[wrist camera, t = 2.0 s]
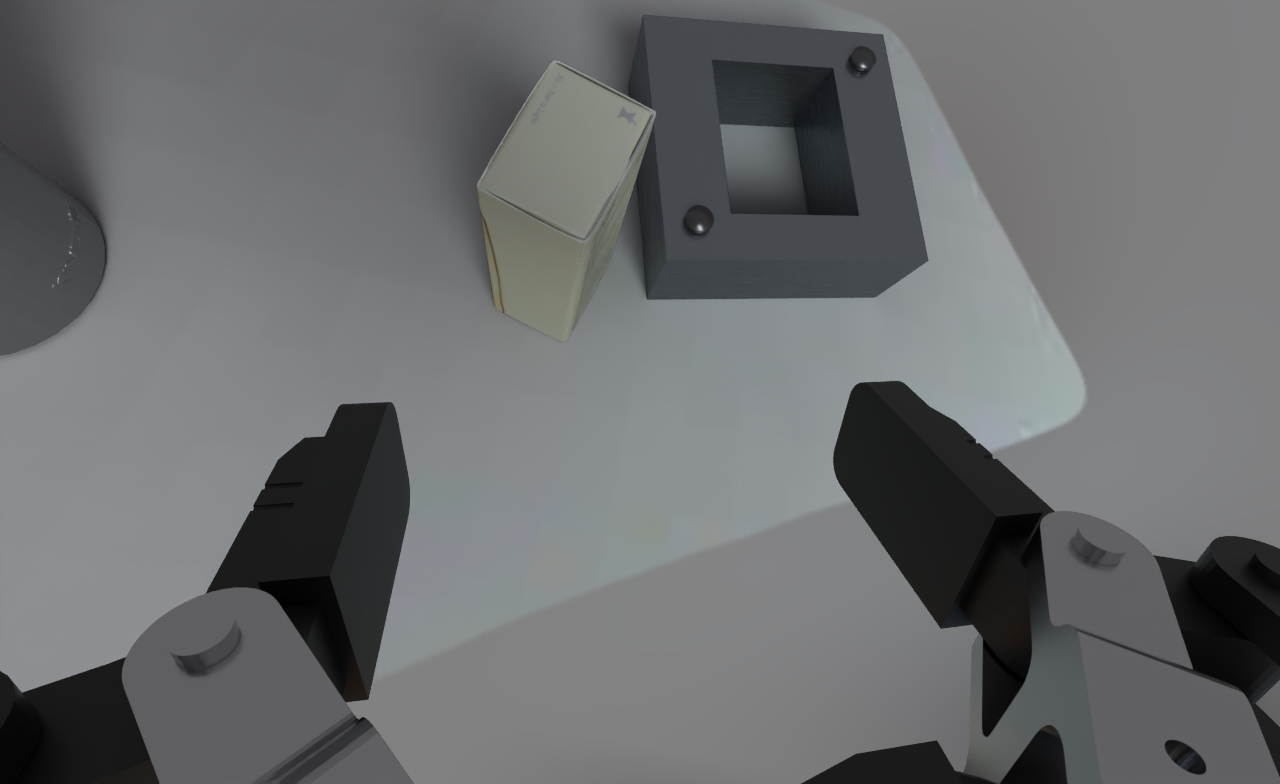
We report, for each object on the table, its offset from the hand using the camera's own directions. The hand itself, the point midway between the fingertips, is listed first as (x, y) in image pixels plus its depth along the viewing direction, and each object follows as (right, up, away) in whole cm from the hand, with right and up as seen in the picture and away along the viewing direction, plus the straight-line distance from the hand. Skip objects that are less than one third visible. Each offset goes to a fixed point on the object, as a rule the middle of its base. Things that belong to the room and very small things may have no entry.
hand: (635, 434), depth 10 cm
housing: (+7, +13, +25) cm, 29 cm away
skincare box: (-5, +7, +22) cm, 24 cm away
